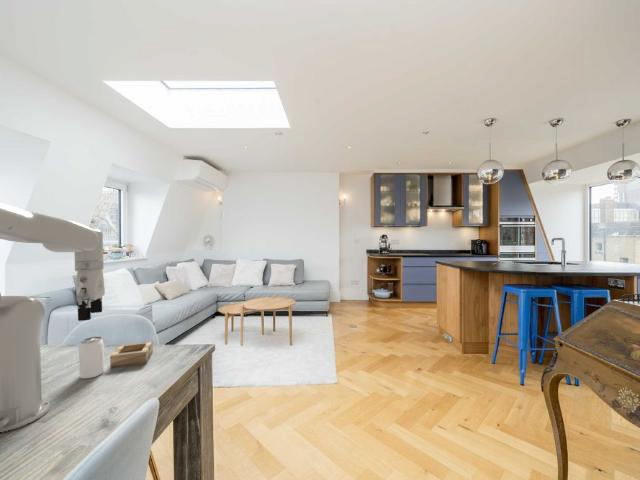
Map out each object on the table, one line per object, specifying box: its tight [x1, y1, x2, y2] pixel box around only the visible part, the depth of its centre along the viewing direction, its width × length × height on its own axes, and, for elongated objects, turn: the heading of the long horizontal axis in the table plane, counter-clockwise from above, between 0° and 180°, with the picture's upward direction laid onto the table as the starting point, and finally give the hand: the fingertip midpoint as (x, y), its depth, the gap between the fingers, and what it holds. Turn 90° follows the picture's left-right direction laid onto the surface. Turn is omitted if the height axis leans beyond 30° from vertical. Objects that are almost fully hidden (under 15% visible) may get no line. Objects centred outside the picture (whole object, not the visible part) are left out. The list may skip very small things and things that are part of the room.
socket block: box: [109, 341, 154, 370], centre depth 107 cm, size 11×11×4 cm
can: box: [78, 336, 105, 380], centre depth 96 cm, size 6×6×12 cm
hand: (90, 316), depth 96 cm, fingers open, 9 cm apart
